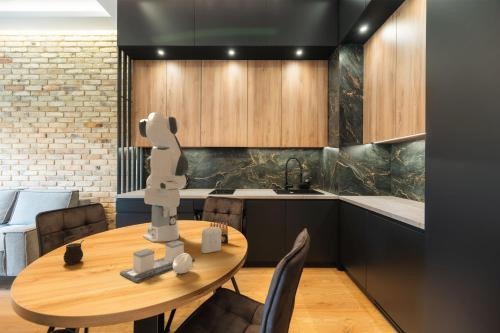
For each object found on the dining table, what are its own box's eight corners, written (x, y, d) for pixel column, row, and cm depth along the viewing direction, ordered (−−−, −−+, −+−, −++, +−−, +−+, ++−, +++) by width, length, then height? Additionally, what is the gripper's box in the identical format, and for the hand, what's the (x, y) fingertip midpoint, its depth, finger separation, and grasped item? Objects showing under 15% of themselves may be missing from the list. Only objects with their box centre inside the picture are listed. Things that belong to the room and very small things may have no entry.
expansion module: (151, 225, 107) (151, 206, 107) (163, 223, 111) (164, 204, 111) (157, 227, 104) (157, 207, 104) (169, 224, 109) (169, 205, 109)
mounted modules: (133, 270, 101) (133, 252, 101) (176, 255, 118) (176, 240, 118) (140, 273, 98) (140, 255, 98) (183, 257, 115) (183, 242, 115)
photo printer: (218, 248, 134) (218, 225, 134) (222, 250, 130) (222, 226, 130) (200, 251, 128) (200, 227, 128) (203, 254, 124) (204, 229, 124)
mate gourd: (65, 260, 113) (66, 238, 113) (85, 258, 116) (86, 237, 116) (60, 266, 107) (61, 243, 107) (81, 264, 110) (82, 241, 110)
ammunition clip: (209, 242, 143) (209, 221, 143) (209, 241, 145) (210, 221, 145) (227, 243, 142) (227, 222, 142) (228, 242, 144) (228, 221, 144)
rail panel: (120, 274, 100) (120, 269, 100) (177, 255, 123) (177, 251, 123) (136, 283, 93) (136, 277, 93) (194, 260, 116) (194, 256, 116)
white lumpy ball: (170, 270, 104) (171, 252, 104) (188, 267, 108) (189, 249, 108) (175, 278, 97) (175, 258, 97) (194, 274, 101) (194, 255, 101)
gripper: (140, 183, 111) (140, 214, 111) (169, 185, 99) (169, 220, 99) (153, 182, 117) (153, 212, 116) (182, 184, 105) (182, 217, 105)
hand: (160, 216), depth 108 cm, fingers closed on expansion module, 4 cm apart
